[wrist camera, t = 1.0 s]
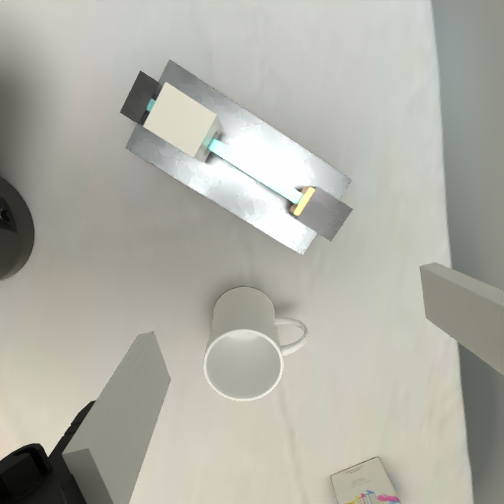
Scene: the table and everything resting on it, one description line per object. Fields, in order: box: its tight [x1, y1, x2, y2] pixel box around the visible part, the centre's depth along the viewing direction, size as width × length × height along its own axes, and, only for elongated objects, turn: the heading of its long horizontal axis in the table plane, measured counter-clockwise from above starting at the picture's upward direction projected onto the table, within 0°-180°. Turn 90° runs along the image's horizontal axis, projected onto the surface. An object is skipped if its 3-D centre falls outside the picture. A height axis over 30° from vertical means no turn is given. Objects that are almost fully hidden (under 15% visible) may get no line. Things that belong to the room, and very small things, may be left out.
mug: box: [203, 287, 309, 401], centre depth 37 cm, size 12×8×12 cm
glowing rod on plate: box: [120, 60, 353, 255], centre depth 34 cm, size 25×11×7 cm, turn 59°
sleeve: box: [143, 82, 223, 163], centre depth 30 cm, size 5×4×7 cm
